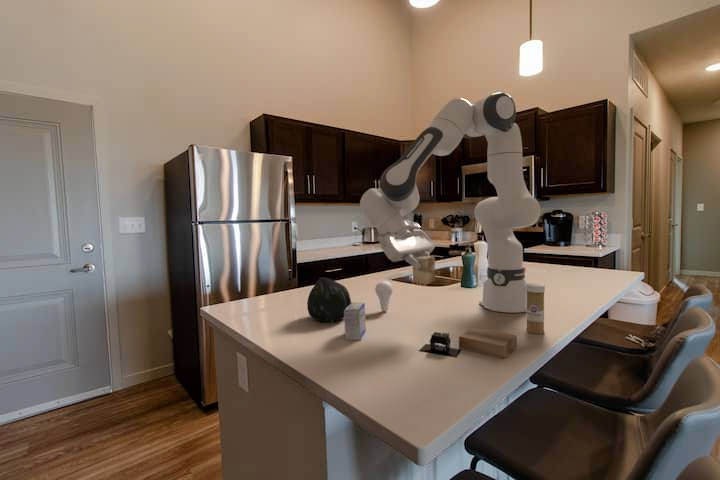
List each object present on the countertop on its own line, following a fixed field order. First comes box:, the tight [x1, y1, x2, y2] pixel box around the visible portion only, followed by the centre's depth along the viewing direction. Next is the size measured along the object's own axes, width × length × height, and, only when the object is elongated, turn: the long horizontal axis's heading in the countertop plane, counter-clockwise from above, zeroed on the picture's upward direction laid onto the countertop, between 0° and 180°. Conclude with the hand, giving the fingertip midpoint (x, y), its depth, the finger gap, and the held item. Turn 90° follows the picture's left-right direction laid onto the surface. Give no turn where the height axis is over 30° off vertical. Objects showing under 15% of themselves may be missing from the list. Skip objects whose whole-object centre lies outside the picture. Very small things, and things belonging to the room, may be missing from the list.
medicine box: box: [343, 302, 367, 341], centre depth 99 cm, size 8×4×9 cm, turn 168°
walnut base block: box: [458, 326, 518, 360], centre depth 87 cm, size 9×11×3 cm
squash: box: [306, 277, 352, 323], centre depth 116 cm, size 14×15×15 cm
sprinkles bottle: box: [525, 282, 546, 335], centre depth 97 cm, size 5×5×14 cm
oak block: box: [412, 256, 436, 285], centre depth 99 cm, size 4×4×7 cm
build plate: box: [418, 331, 462, 358], centre depth 86 cm, size 12×7×5 cm, turn 60°
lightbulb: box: [374, 280, 394, 313], centre depth 122 cm, size 6×6×11 cm
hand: (425, 266), depth 98 cm, fingers closed on oak block, 4 cm apart
